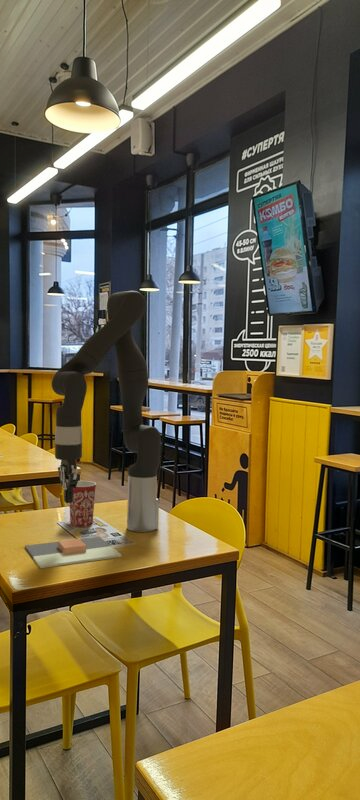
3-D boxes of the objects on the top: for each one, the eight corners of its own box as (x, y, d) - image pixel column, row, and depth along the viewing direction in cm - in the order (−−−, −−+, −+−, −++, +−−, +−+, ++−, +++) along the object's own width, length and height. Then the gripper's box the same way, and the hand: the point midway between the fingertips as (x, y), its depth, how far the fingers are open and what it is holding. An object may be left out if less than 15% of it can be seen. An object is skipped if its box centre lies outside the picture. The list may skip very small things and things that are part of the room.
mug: (99, 526, 182) (100, 484, 181) (72, 529, 177) (73, 487, 177) (86, 516, 193) (87, 477, 192) (60, 519, 188) (61, 479, 188)
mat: (99, 538, 168) (99, 536, 168) (121, 556, 152) (121, 554, 152) (24, 547, 158) (24, 545, 158) (40, 568, 142) (40, 566, 142)
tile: (78, 538, 160) (86, 545, 154) (78, 544, 160) (86, 551, 154) (57, 540, 157) (64, 548, 151) (57, 547, 157) (64, 554, 151)
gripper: (89, 444, 154) (88, 506, 155) (74, 438, 166) (73, 496, 167) (62, 445, 151) (62, 509, 152) (49, 439, 162) (48, 498, 163)
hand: (68, 502), depth 159 cm, fingers closed
